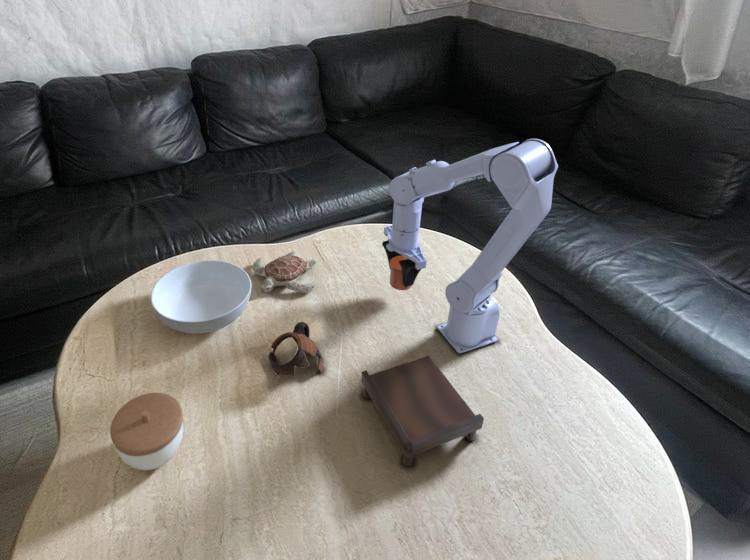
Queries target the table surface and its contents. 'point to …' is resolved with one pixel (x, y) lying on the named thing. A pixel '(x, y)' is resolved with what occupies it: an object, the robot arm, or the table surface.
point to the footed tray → (420, 406)
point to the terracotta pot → (397, 273)
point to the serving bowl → (201, 296)
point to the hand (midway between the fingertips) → (401, 277)
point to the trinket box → (148, 430)
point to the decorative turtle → (285, 273)
